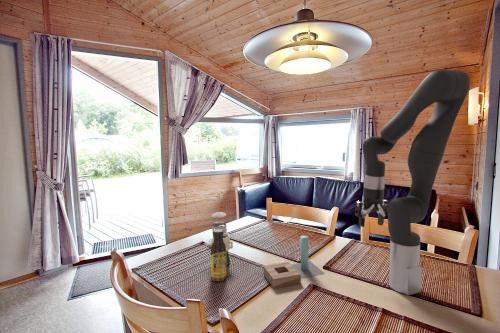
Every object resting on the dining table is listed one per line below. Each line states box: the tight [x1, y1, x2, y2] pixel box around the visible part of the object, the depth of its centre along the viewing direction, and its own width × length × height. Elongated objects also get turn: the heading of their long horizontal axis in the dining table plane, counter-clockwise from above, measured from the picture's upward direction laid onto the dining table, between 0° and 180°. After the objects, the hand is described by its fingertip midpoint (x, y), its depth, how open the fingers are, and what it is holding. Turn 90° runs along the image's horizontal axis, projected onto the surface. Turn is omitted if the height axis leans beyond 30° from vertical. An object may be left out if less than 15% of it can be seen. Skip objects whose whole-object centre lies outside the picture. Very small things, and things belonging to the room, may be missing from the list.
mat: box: [291, 260, 326, 280], centre depth 114 cm, size 12×12×1 cm
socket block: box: [262, 261, 302, 290], centre depth 107 cm, size 11×11×4 cm
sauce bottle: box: [210, 229, 227, 282], centre depth 108 cm, size 7×6×20 cm
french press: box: [208, 194, 228, 241], centre depth 151 cm, size 10×12×25 cm
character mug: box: [211, 233, 234, 266], centre depth 121 cm, size 11×7×13 cm, turn 63°
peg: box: [299, 235, 310, 271], centre depth 113 cm, size 3×3×14 cm
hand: (371, 225), depth 111 cm, fingers open, 8 cm apart
